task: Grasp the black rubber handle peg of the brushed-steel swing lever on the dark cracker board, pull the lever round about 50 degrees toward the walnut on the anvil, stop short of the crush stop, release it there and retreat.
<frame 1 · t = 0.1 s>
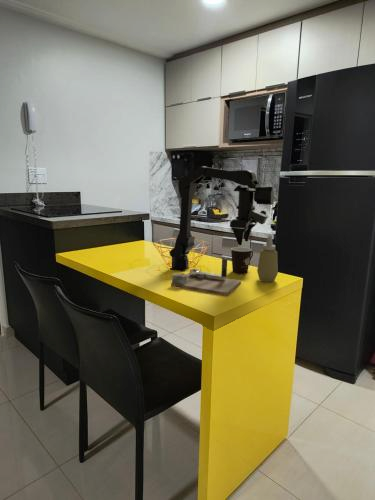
hand: (243, 243, 134), 15 cm above the table, fingers open, 9 cm apart
coffee mug: (243, 272, 147), on the table
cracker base: (206, 284, 128), on the table
walnut: (182, 283, 128), resting on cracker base
lever: (207, 267, 131), point 6 cm above the table, hinge at 0.0°
squeeze bottle: (266, 280, 135), on the table
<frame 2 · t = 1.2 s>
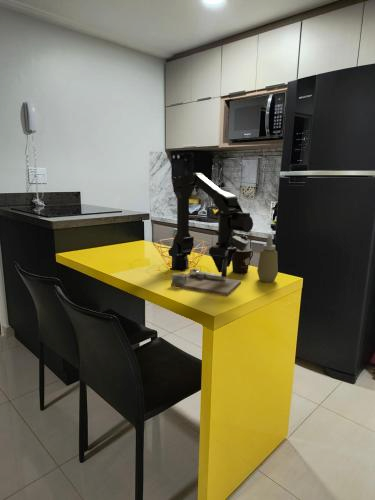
hand: (224, 269, 129), 6 cm above the table, fingers open, 9 cm apart
nothing on the table moved.
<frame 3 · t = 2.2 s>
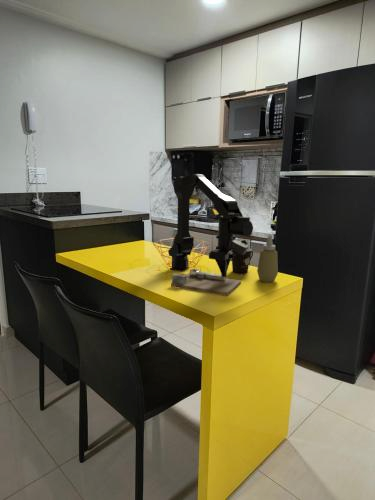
hand: (224, 273, 129), 4 cm above the table, fingers closed on lever, 2 cm apart
lever: (207, 267, 131), point 6 cm above the table, hinge at 0.0°, touching gripper
everything else where it was.
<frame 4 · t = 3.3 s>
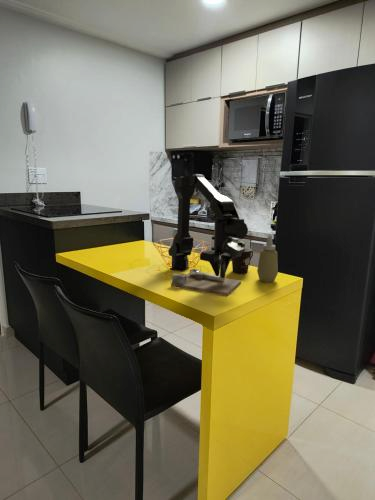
hand: (220, 274, 127), 4 cm above the table, fingers open, 4 cm apart
lever: (206, 267, 131), point 6 cm above the table, hinge at -6.9°, touching gripper
everything else where it was.
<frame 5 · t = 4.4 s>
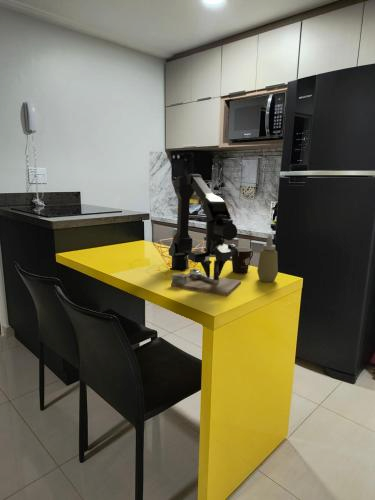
hand: (213, 276, 125), 4 cm above the table, fingers open, 4 cm apart
lever: (203, 268, 129), point 6 cm above the table, hinge at -26.2°, touching gripper
everything else where it was.
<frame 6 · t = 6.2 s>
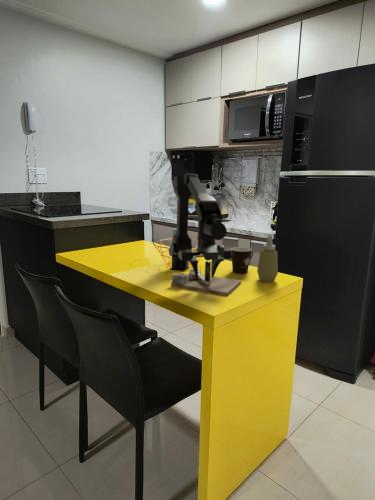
hand: (204, 277, 123), 4 cm above the table, fingers open, 6 cm apart
lever: (199, 268, 129), point 6 cm above the table, hinge at -44.5°
everything else where it was.
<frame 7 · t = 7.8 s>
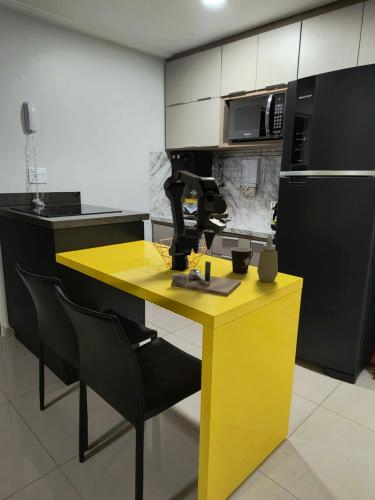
hand: (202, 251, 131), 12 cm above the table, fingers open, 9 cm apart
nothing on the table moved.
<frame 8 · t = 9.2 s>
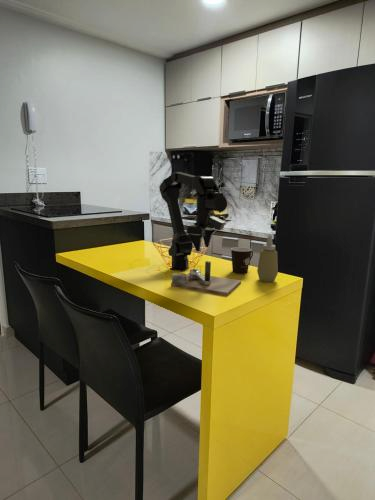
hand: (202, 249, 133), 12 cm above the table, fingers open, 9 cm apart
nothing on the table moved.
at the end: lever at -44° (first picture: +0°); the gripper is holding nothing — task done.
